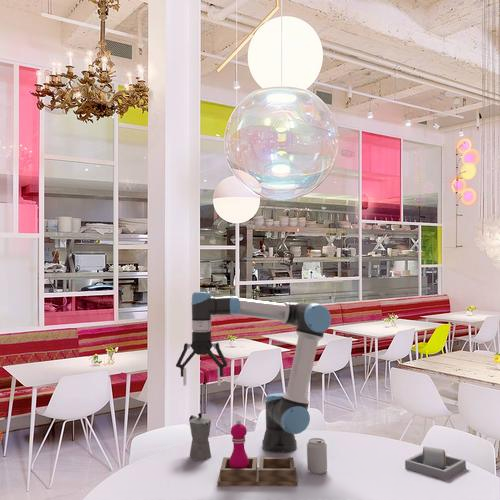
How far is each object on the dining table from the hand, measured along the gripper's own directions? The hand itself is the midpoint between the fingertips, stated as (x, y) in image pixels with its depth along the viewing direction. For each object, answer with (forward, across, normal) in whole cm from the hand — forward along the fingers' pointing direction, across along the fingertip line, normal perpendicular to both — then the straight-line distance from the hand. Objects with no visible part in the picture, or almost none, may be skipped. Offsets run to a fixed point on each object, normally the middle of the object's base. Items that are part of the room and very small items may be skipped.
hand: (202, 385), depth 207 cm
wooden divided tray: (+33, +22, -9) cm, 40 cm away
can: (+33, +44, -2) cm, 55 cm away
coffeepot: (+33, -4, +15) cm, 36 cm away
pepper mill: (+31, +15, -9) cm, 36 cm away
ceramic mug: (+33, +90, +4) cm, 96 cm away
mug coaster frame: (+33, +90, +1) cm, 96 cm away
